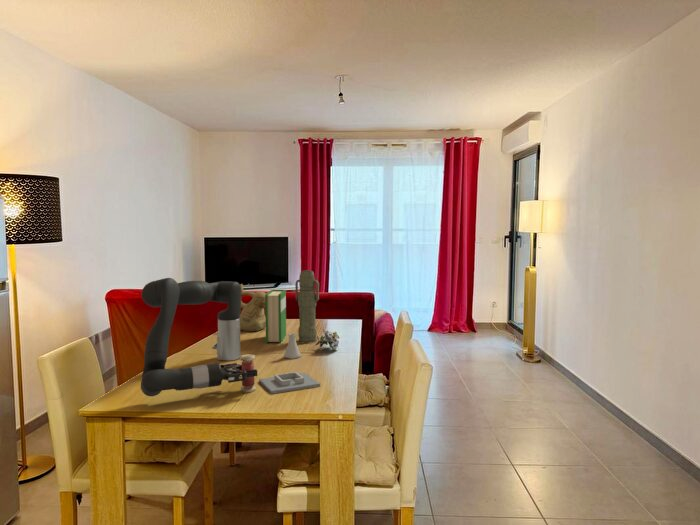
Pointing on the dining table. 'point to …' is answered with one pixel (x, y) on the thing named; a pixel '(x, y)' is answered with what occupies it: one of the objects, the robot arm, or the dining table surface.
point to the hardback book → (275, 315)
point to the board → (288, 382)
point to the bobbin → (246, 365)
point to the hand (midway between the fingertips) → (253, 369)
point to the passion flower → (329, 340)
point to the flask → (292, 348)
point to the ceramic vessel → (253, 311)
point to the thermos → (307, 305)
